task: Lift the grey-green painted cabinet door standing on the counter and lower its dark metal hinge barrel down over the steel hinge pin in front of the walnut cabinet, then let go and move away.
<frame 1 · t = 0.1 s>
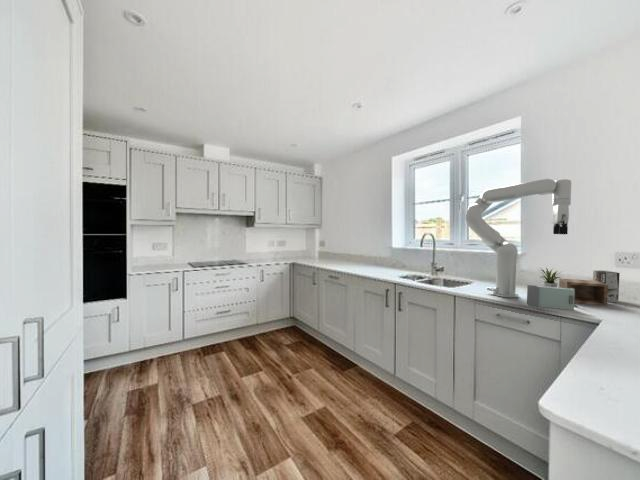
hand: (560, 234, 146), 37 cm above the counter, tool pointing down, fingers open, 9 cm apart
coffee box: (604, 300, 149), on the counter
house plant: (546, 292, 169), on the counter
cabinet: (581, 301, 146), on the counter
door: (532, 305, 138), on the counter
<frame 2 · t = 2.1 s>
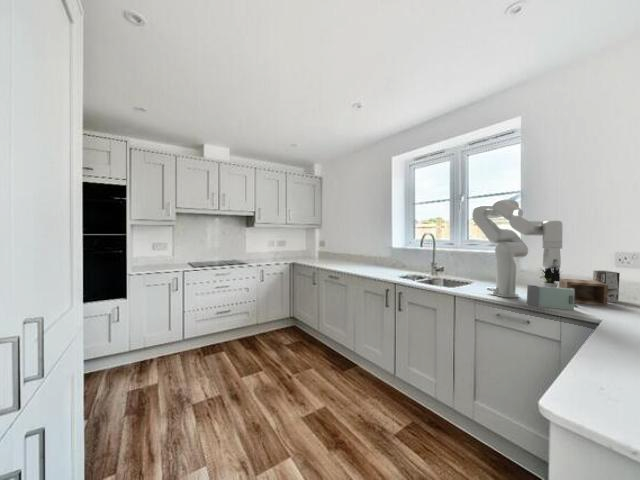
hand: (551, 279, 133), 14 cm above the counter, tool pointing down, fingers open, 9 cm apart
nothing on the counter moved.
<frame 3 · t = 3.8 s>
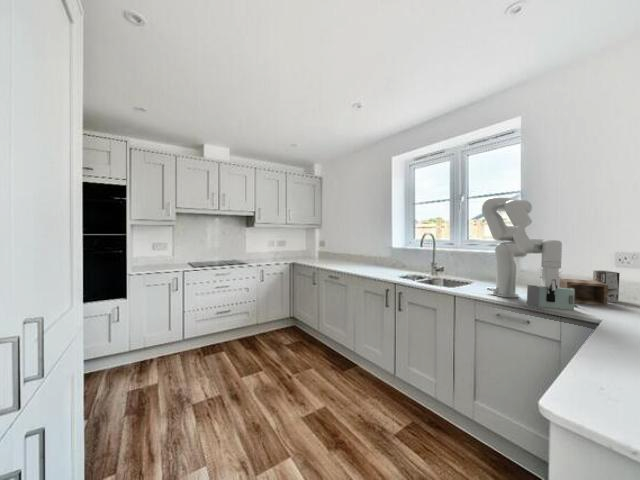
hand: (549, 300, 134), 3 cm above the counter, tool pointing down, fingers closed on door, 2 cm apart
door: (532, 305, 138), on the counter, touching gripper
everything else where it was.
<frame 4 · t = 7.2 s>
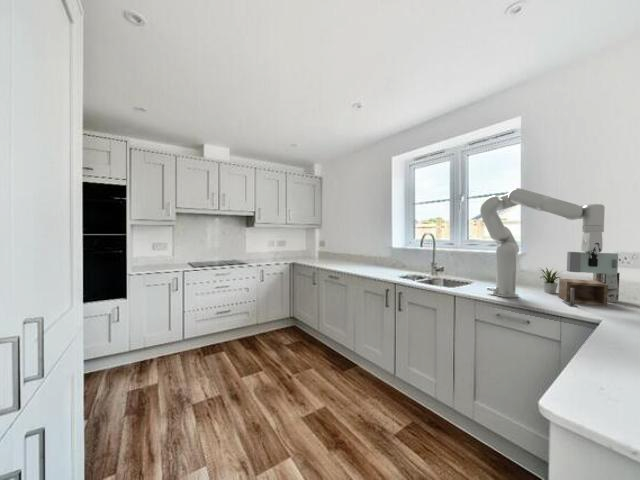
hand: (591, 265, 134), 21 cm above the counter, tool pointing down, fingers closed on door
door: (573, 271, 137), point 18 cm above the counter, touching gripper
everything else where it was.
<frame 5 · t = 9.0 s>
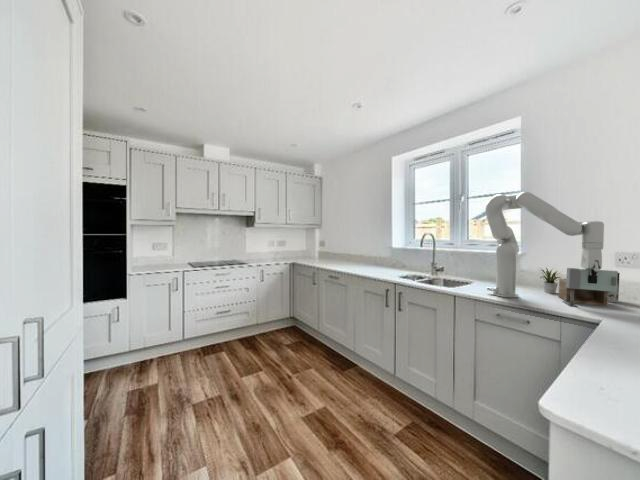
hand: (591, 282, 134), 13 cm above the counter, tool pointing down, fingers closed on door
door: (572, 288, 137), point 9 cm above the counter, touching gripper
everything else where it was.
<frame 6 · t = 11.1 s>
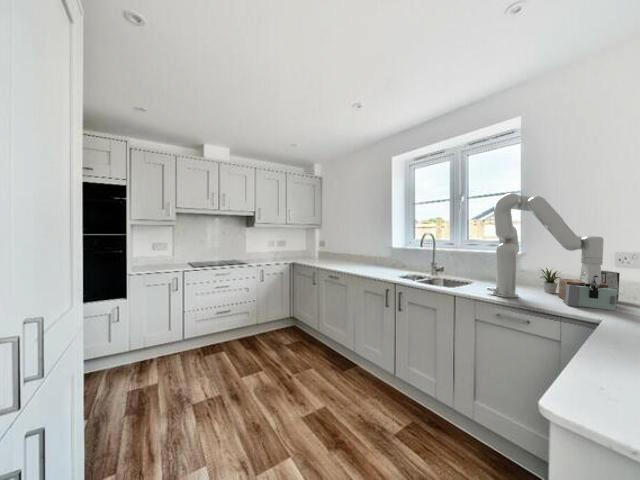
hand: (590, 296, 134), 6 cm above the counter, tool pointing down, fingers open, 6 cm apart
door: (571, 304, 138), on the counter, touching cabinet
everything else where it was.
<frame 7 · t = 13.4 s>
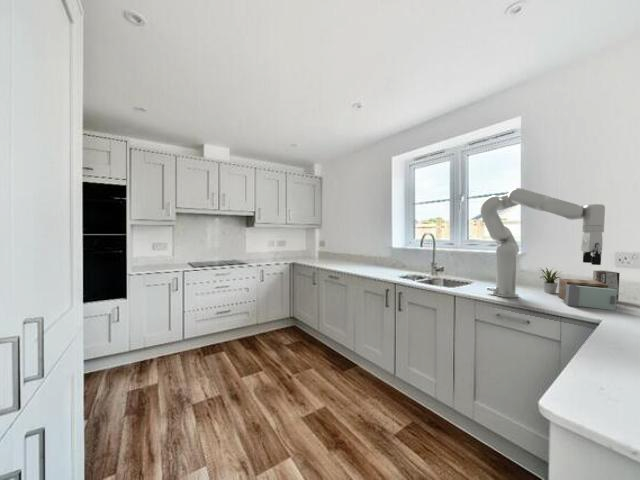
hand: (591, 263, 134), 22 cm above the counter, tool pointing down, fingers open, 9 cm apart
nothing on the counter moved.
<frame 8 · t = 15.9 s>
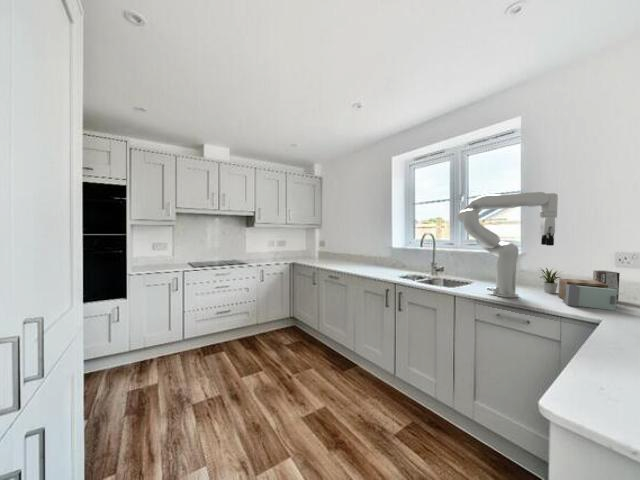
hand: (547, 245, 154), 30 cm above the counter, tool pointing down, fingers open, 9 cm apart
nothing on the counter moved.
at the end: door 0.2 cm from the target spot, point 0.5 cm above the counter; the gripper is holding nothing; door tilted 2° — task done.
